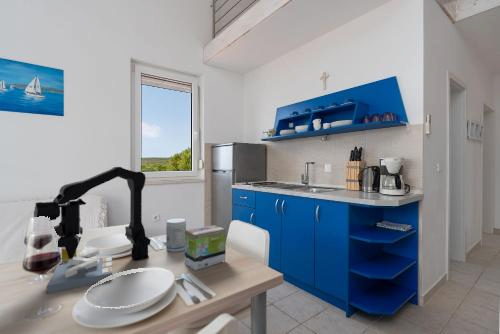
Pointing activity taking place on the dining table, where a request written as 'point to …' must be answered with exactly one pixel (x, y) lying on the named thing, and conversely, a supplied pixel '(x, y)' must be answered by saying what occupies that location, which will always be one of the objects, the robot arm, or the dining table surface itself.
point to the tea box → (205, 246)
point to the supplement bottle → (65, 255)
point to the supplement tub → (175, 235)
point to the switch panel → (79, 275)
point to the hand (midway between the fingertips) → (70, 258)
